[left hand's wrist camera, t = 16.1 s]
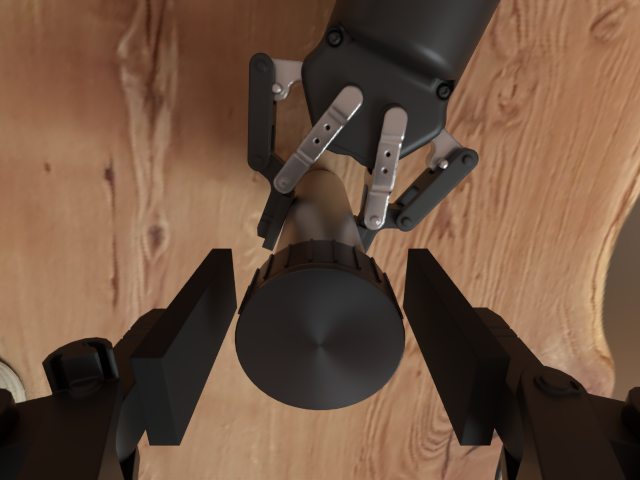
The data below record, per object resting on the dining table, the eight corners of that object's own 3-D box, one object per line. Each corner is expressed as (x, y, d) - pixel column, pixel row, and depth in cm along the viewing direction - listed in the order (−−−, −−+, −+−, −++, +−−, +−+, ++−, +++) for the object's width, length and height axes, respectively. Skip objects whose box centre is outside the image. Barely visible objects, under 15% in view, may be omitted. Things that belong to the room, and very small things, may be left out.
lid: (409, 250, 12) (429, 282, 10) (373, 372, 14) (384, 422, 11) (256, 224, 11) (241, 251, 9) (240, 353, 13) (225, 400, 11)
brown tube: (346, 219, 29) (384, 381, 12) (296, 221, 29) (261, 386, 12) (345, 168, 27) (387, 269, 10) (292, 170, 27) (246, 275, 10)
